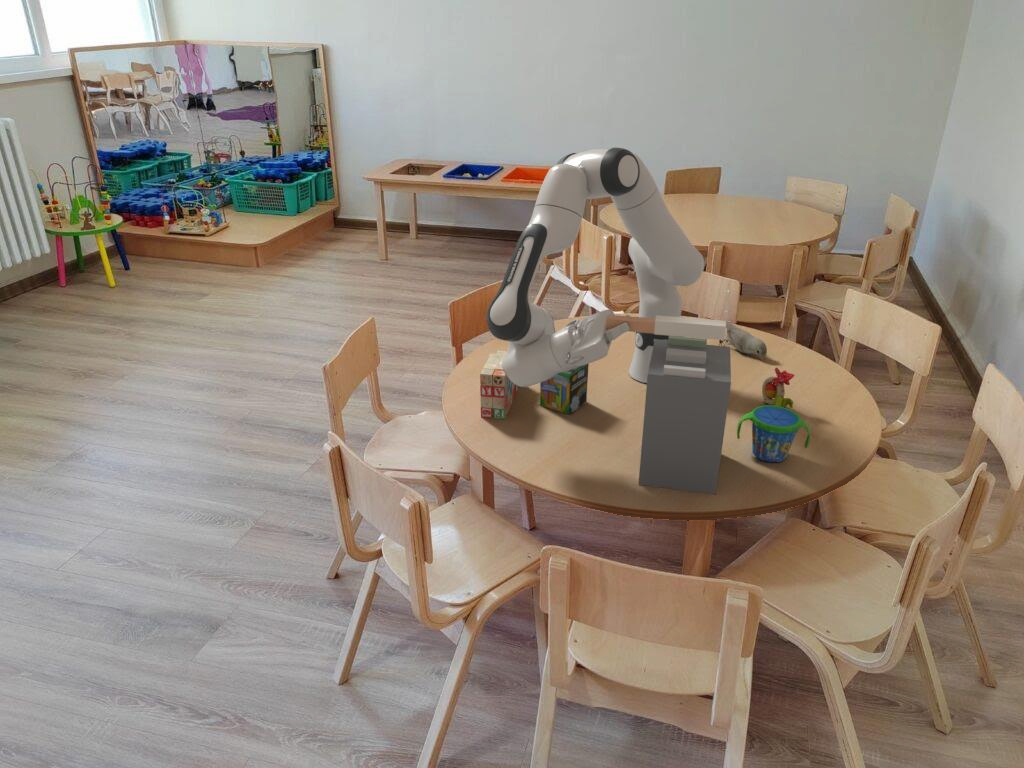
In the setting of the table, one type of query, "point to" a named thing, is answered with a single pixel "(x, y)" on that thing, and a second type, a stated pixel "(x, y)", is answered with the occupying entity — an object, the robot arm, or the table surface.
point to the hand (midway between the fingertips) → (629, 321)
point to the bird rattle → (777, 389)
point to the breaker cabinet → (685, 414)
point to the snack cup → (773, 431)
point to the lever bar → (672, 326)
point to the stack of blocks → (496, 388)
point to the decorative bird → (744, 341)
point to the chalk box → (565, 390)
